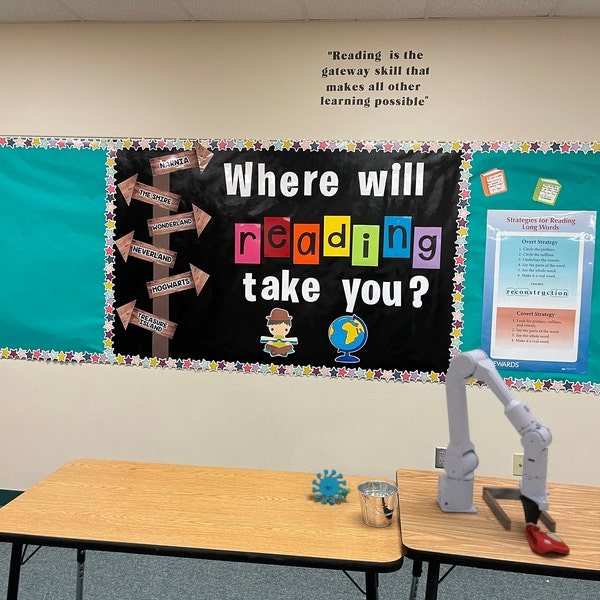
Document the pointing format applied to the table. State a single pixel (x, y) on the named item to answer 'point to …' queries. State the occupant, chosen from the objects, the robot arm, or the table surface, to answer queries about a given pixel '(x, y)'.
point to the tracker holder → (544, 540)
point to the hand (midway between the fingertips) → (531, 525)
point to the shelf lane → (510, 493)
